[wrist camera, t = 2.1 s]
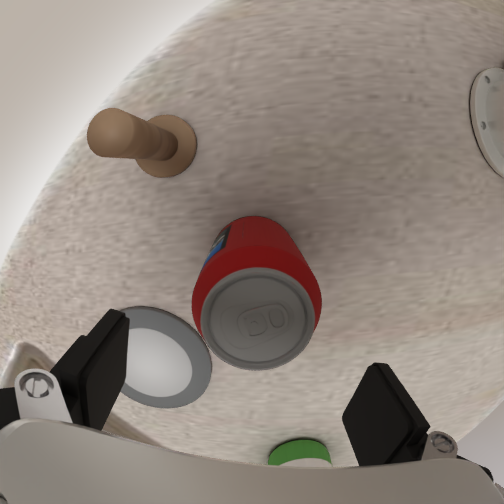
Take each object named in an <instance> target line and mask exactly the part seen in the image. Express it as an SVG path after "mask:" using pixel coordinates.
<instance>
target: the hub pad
mask: <svg viewBox="0 0 504 504" xmlns="http://www.w3.org/2000/svg"><path fill="white" fill-rule="evenodd" d="M120 311H121V312H124V313H125V314H126V317H127V318H129V319H130V325H129V337H128V352H127V370H126V379H125V382H124V385H123V387H122V389H121V391H120V392H121V393H123V394H124V395H126V396H127V397H129V398H131V399H133V400H134V401H137V402H139V403H141V404H144V405H147V406H151V407H157V408H177V407H181V406H185V405H188V404H190V403H192V402H194V401H195V400H197V399H198V398H199V397H200V396H201V395H202V394H203V393H204V392H205V390H206V388H207V387H208V384H209V381H210V377H211V370H212V363H211V357H210V354H209V351H208V348H207V346H206V344H205V343H204V341H203V340H202V338H201V337H200V336H199V334H198V333H197V332H196V331H195V330H194V329H193V328H192V327H191V326H190V325H189V324H187V323H186V322H185V321H183V320H182V319H180V318H178V317H177V316H175V315H173V314H171V313H169V312H166V311H163V310H160V309H156V308H152V307H130V308H126V309H123V310H120Z"/></svg>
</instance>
